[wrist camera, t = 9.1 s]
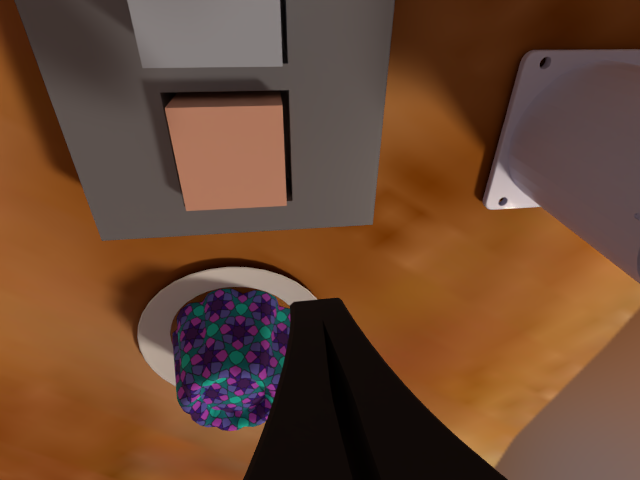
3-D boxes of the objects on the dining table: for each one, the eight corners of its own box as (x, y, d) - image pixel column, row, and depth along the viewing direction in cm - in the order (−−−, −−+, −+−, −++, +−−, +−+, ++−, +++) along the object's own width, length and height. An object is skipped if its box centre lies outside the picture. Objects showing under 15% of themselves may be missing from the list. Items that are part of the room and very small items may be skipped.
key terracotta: (278, 86, 16) (282, 105, 13) (283, 174, 18) (286, 205, 16) (181, 87, 16) (164, 108, 13) (197, 177, 18) (186, 211, 15)
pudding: (349, 358, 28) (365, 426, 24) (199, 407, 29) (188, 481, 25) (290, 230, 21) (297, 292, 17) (98, 299, 22) (59, 375, 18)
